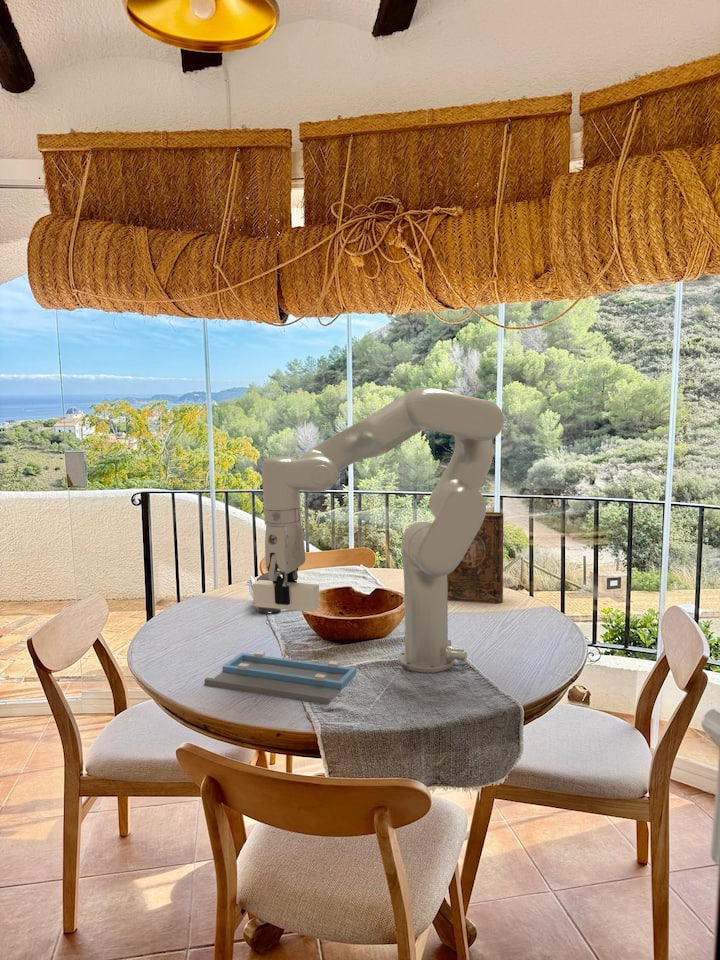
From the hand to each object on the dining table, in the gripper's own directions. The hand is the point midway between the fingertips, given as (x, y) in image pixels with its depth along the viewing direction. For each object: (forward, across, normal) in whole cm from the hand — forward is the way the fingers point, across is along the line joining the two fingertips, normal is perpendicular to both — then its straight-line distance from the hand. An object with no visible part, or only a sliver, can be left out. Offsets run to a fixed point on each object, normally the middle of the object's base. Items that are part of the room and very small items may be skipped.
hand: (286, 600), depth 148 cm
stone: (+17, +41, +26) cm, 51 cm away
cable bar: (+1, 0, 0) cm, 1 cm away
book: (+18, +64, -27) cm, 72 cm away
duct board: (+17, -3, 0) cm, 17 cm away
